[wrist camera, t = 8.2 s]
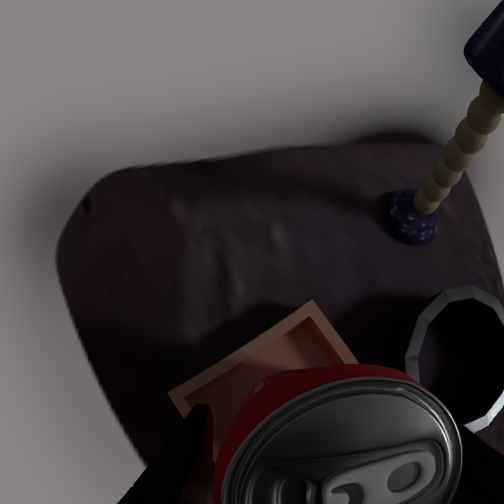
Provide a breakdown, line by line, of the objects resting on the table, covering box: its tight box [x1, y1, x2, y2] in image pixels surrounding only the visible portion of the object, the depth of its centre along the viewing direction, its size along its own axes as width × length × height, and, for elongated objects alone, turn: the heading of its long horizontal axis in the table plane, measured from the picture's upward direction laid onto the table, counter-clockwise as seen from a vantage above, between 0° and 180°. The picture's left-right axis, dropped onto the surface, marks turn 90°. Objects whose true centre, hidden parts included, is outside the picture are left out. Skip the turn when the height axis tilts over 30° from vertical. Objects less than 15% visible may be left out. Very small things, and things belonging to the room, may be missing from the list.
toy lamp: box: [385, 0, 504, 245], centre depth 12 cm, size 5×5×17 cm
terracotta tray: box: [168, 300, 359, 463], centre depth 14 cm, size 9×9×2 cm
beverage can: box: [213, 364, 463, 504], centre depth 9 cm, size 5×5×12 cm
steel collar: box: [380, 285, 504, 433], centre depth 14 cm, size 8×8×4 cm
